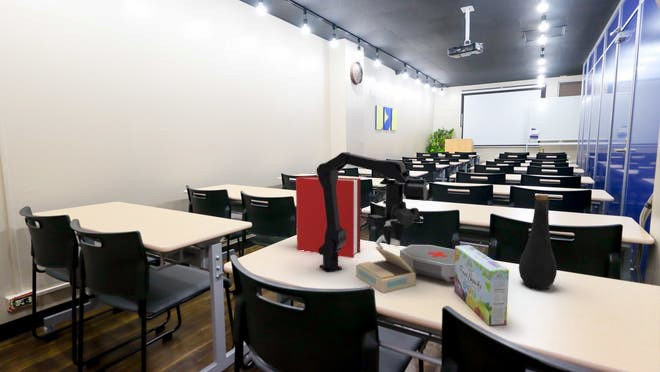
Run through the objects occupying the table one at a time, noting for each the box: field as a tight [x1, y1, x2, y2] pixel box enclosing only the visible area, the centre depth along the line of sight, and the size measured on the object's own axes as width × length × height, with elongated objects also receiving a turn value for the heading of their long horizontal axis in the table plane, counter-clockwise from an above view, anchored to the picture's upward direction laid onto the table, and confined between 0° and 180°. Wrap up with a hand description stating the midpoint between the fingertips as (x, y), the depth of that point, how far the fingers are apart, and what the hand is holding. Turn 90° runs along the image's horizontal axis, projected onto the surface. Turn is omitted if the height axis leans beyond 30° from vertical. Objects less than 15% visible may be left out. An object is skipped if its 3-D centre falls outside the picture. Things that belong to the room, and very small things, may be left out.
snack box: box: [453, 244, 510, 327], centre depth 98 cm, size 21×6×15 cm, turn 4°
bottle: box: [518, 193, 558, 291], centre depth 111 cm, size 11×11×30 cm
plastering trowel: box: [375, 234, 414, 273], centre depth 119 cm, size 14×11×5 cm
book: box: [295, 175, 362, 259], centre depth 149 cm, size 27×8×32 cm, turn 66°
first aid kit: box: [399, 244, 455, 283], centre depth 124 cm, size 18×8×25 cm
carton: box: [355, 258, 416, 294], centre depth 118 cm, size 16×13×5 cm
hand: (392, 244), depth 117 cm, fingers open, 3 cm apart
